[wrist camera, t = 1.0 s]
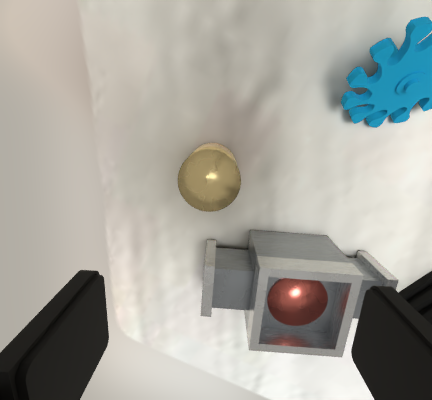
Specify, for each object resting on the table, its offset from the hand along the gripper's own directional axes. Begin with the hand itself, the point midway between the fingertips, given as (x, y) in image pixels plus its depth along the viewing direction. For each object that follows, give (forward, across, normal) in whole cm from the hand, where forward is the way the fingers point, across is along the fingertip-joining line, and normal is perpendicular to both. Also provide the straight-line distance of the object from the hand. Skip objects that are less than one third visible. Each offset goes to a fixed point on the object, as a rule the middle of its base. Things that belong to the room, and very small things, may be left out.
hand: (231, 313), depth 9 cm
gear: (+20, -15, -11) cm, 27 cm away
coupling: (+20, +2, -2) cm, 20 cm away
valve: (+20, -7, +9) cm, 23 cm away
